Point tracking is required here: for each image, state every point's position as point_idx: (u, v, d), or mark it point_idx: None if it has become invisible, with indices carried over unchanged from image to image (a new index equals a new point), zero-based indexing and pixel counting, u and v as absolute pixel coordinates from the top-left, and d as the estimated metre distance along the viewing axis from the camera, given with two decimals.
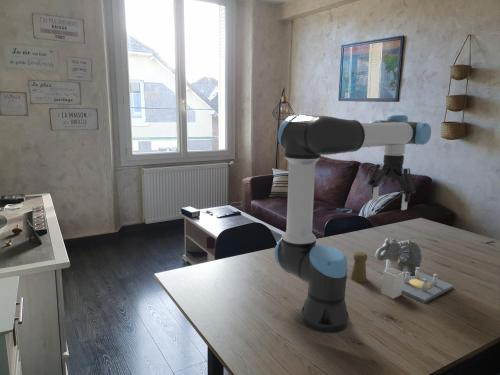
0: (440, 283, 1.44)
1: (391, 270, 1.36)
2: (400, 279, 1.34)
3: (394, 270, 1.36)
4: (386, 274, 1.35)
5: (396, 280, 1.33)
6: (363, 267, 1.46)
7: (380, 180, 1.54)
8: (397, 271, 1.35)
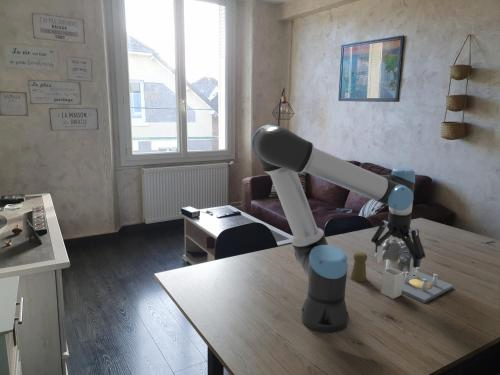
0: (440, 283, 1.44)
1: (391, 270, 1.36)
2: (400, 279, 1.34)
3: (394, 270, 1.36)
4: (386, 274, 1.35)
5: (396, 280, 1.33)
6: (363, 267, 1.46)
7: (385, 239, 1.37)
8: (397, 271, 1.35)
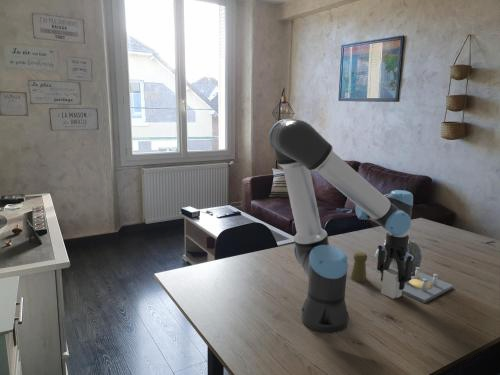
0: (440, 283, 1.44)
1: (391, 270, 1.36)
2: None
3: (394, 270, 1.36)
4: (386, 274, 1.35)
5: (396, 280, 1.33)
6: (363, 267, 1.46)
7: (388, 264, 1.37)
8: (397, 271, 1.35)
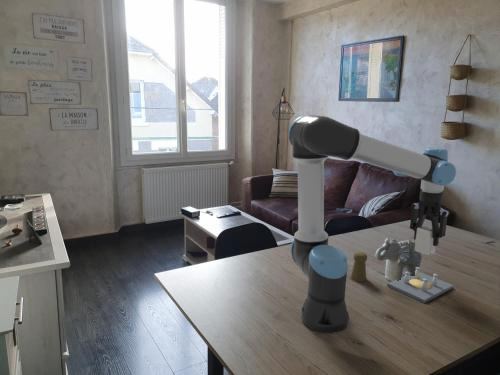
0: (440, 283, 1.44)
1: (425, 227, 1.38)
2: None
3: (427, 227, 1.38)
4: (420, 232, 1.37)
5: (430, 236, 1.35)
6: (363, 267, 1.46)
7: (421, 222, 1.39)
8: (431, 228, 1.37)
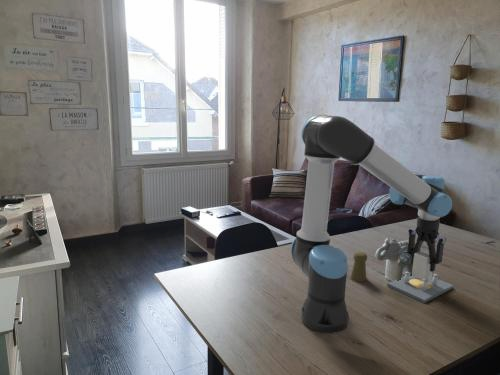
0: (440, 283, 1.44)
1: (422, 253, 1.40)
2: None
3: (424, 253, 1.40)
4: (417, 257, 1.40)
5: (427, 262, 1.38)
6: (363, 267, 1.46)
7: (418, 247, 1.41)
8: (428, 254, 1.39)
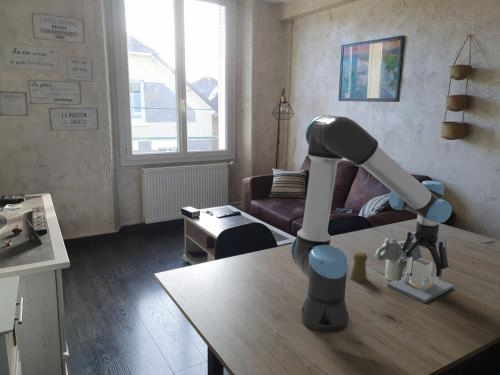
0: (440, 283, 1.44)
1: (421, 260, 1.41)
2: (429, 269, 1.40)
3: (423, 260, 1.41)
4: (416, 265, 1.40)
5: (426, 270, 1.38)
6: (363, 267, 1.46)
7: (413, 250, 1.43)
8: (426, 261, 1.40)
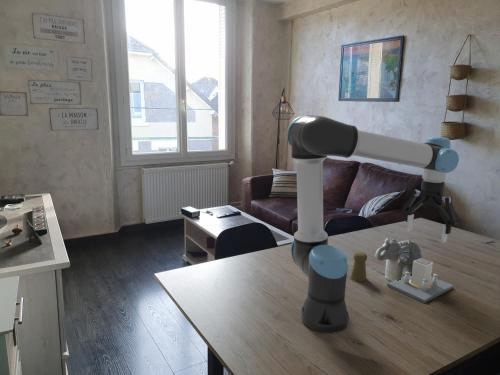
0: (440, 283, 1.44)
1: (421, 260, 1.41)
2: (429, 269, 1.40)
3: (423, 260, 1.41)
4: (416, 265, 1.40)
5: (426, 270, 1.38)
6: (363, 267, 1.46)
7: (416, 208, 1.40)
8: (426, 261, 1.40)
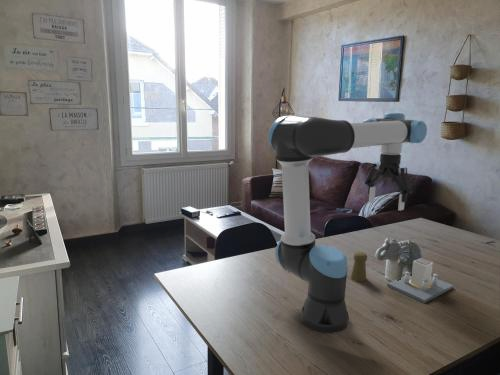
0: (440, 283, 1.44)
1: (421, 260, 1.41)
2: (429, 269, 1.40)
3: (423, 260, 1.41)
4: (416, 265, 1.40)
5: (426, 270, 1.38)
6: (363, 267, 1.46)
7: (377, 180, 1.50)
8: (426, 261, 1.40)
